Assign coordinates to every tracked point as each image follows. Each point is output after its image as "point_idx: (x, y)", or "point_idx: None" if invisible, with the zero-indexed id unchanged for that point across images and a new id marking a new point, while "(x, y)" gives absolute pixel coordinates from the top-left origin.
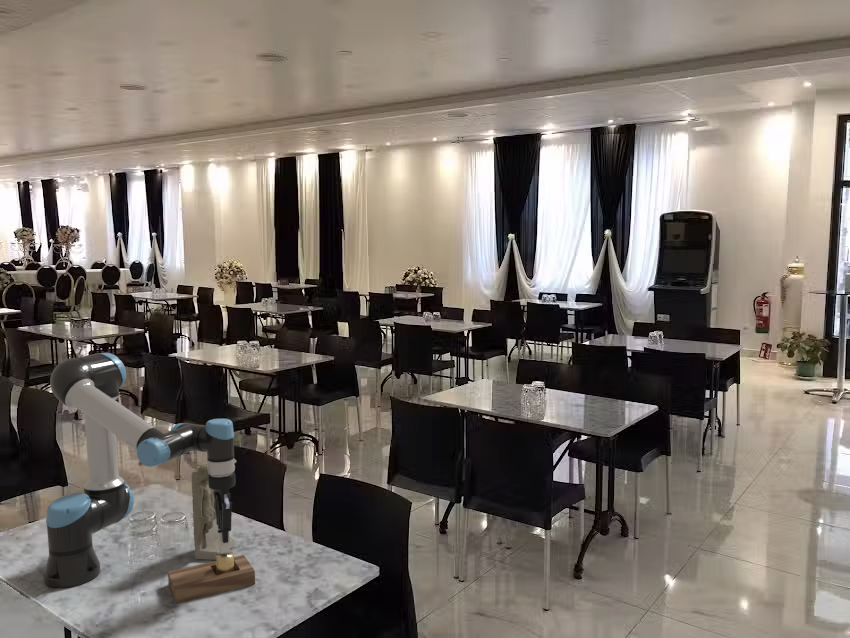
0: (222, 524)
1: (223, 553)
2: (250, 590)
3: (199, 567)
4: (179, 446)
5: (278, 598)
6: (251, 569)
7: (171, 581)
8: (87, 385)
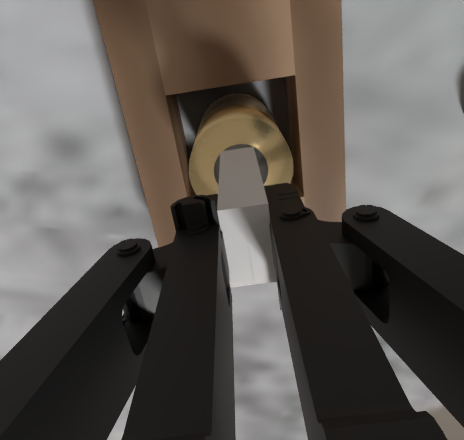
0: (71, 301)
1: (260, 165)
2: (122, 216)
3: (301, 8)
4: None
5: (39, 292)
6: None
7: None
8: None
